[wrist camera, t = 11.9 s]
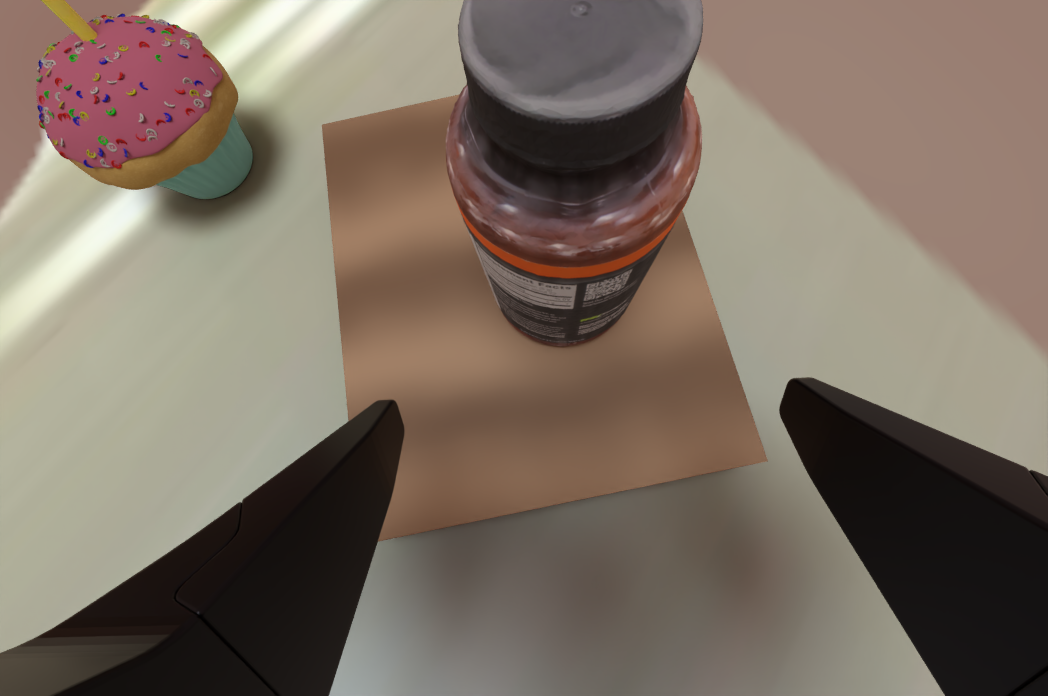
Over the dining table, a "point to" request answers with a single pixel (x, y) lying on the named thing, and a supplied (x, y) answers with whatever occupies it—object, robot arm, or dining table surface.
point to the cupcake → (141, 106)
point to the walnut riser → (510, 350)
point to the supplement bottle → (573, 152)
